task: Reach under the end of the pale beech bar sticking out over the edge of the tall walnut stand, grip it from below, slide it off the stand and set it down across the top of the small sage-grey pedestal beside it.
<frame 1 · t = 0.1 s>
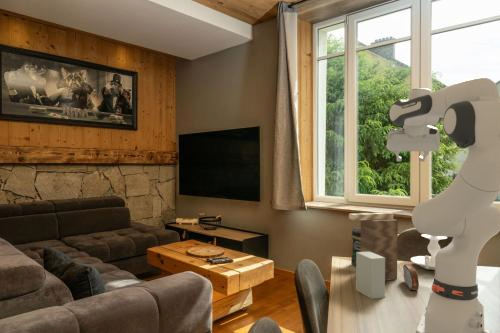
hand: (410, 161, 145), 52 cm above the table, tool tilted 20°, fingers open, 8 cm apart
coffee jar: (361, 266, 172), on the table
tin: (410, 287, 143), on the table
tall stand: (378, 276, 156), on the table
pedestal: (369, 293, 136), on the table
beech bar: (371, 219, 155), point 26 cm above the table, touching tall stand
candlestick: (432, 269, 168), on the table
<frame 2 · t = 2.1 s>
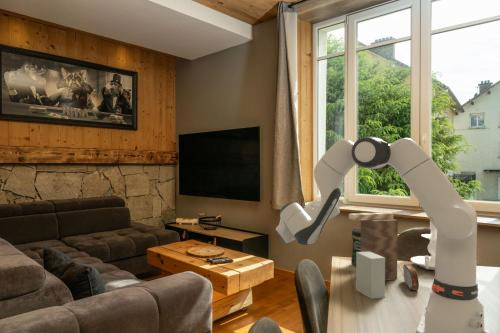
hand: (336, 200, 150), 35 cm above the table, tool pointing upward, fingers open, 8 cm apart
nothing on the table moved.
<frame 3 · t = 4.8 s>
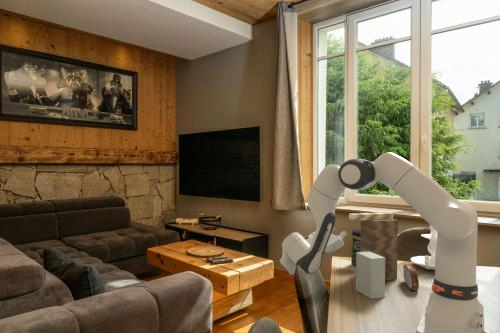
hand: (339, 230, 151), 22 cm above the table, tool pointing upward, fingers open, 8 cm apart
nothing on the table moved.
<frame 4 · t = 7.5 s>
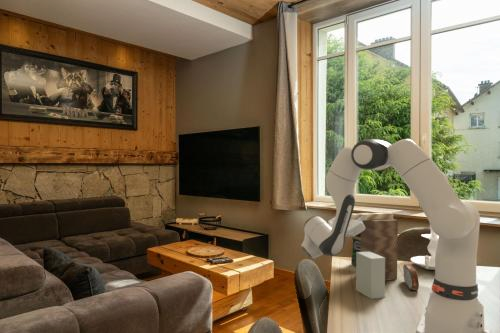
hand: (359, 215, 153), 28 cm above the table, tool pointing upward, fingers closed on beech bar, 4 cm apart
beech bar: (371, 219, 155), point 26 cm above the table, touching gripper, tall stand
everything else where it was.
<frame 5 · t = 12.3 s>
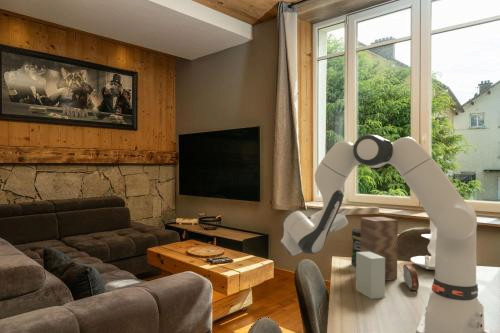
hand: (343, 209, 144), 31 cm above the table, tool pointing upward, fingers closed on beech bar, 4 cm apart
beech bar: (355, 213, 146), point 30 cm above the table, touching gripper
everything else where it was.
when the fingers open (18 cm above the table, at t = 17.1 s): beech bar drops 2 cm, resting on pedestal.
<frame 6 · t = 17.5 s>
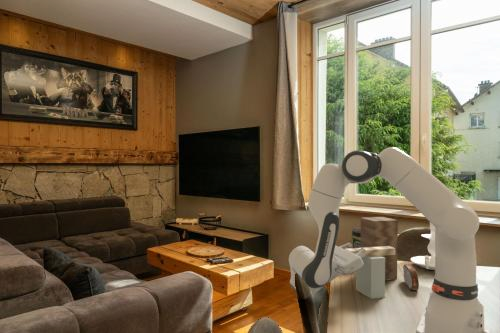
hand: (357, 246, 134), 18 cm above the table, tool pointing upward, fingers open, 8 cm apart
beech bar: (370, 254, 135), point 15 cm above the table, touching pedestal
everything else where it was.
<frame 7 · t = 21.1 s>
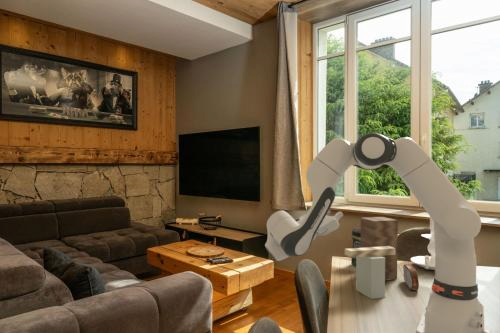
hand: (335, 211, 131), 32 cm above the table, tool pointing upward, fingers open, 8 cm apart
nothing on the table moved.
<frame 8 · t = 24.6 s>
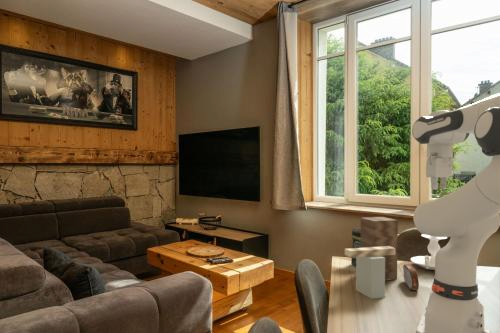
hand: (439, 189, 134), 41 cm above the table, tool pointing down, fingers open, 8 cm apart
nothing on the table moved.
at the end: beech bar inside the target area on the pedestal (0.1 cm from its centre), point 15.0 cm above the pedestal's base; the gripper is holding nothing; beech bar tilted 0° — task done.
